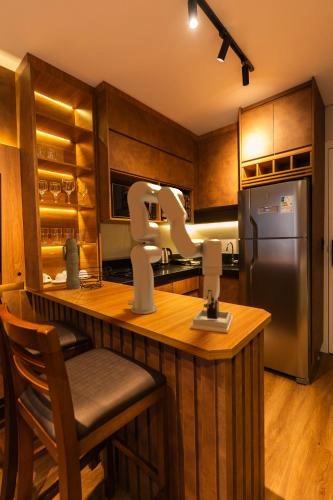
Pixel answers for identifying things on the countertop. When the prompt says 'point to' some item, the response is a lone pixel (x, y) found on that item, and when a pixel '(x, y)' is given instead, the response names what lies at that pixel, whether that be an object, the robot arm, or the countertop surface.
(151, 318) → the countertop surface
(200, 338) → the countertop surface
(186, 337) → the countertop surface
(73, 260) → the thermos
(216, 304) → the connector plug
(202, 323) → the tray
